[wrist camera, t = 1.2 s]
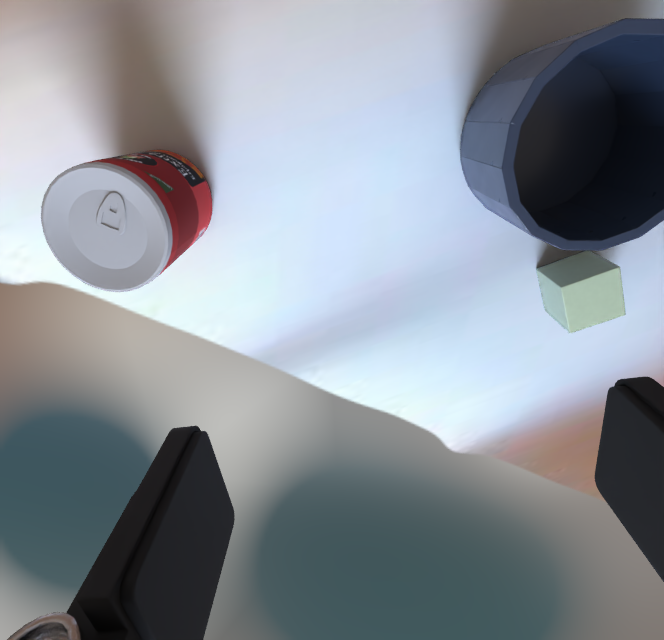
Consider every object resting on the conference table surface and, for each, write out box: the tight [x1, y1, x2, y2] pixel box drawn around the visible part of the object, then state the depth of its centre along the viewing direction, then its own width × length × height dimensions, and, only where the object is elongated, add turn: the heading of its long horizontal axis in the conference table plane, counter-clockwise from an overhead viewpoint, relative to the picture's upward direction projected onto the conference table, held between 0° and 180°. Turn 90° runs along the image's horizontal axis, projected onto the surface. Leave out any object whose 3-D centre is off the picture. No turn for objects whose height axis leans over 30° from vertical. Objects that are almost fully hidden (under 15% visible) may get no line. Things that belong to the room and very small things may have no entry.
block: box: [536, 250, 625, 333], centre depth 36 cm, size 5×5×5 cm
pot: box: [460, 18, 664, 251], centre depth 28 cm, size 12×12×10 cm
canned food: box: [41, 150, 212, 292], centre depth 30 cm, size 8×8×11 cm
